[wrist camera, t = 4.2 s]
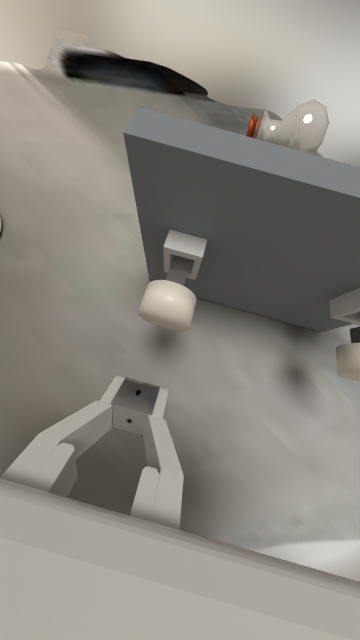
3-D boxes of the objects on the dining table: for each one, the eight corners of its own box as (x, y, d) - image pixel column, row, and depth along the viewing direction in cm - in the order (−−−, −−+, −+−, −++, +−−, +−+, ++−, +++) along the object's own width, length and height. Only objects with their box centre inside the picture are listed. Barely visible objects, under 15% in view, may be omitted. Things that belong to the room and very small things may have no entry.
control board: (321, 344, 23) (618, 293, 8) (146, 296, 23) (109, 153, 8) (319, 314, 25) (564, 223, 10) (156, 269, 25) (141, 107, 10)
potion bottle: (298, 184, 37) (236, 175, 39) (318, 133, 34) (250, 125, 36) (325, 155, 28) (243, 144, 30) (355, 82, 26) (262, 76, 28)
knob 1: (186, 334, 15) (194, 319, 11) (141, 321, 15) (132, 302, 11) (196, 294, 16) (206, 267, 12) (155, 283, 16) (152, 252, 12)
